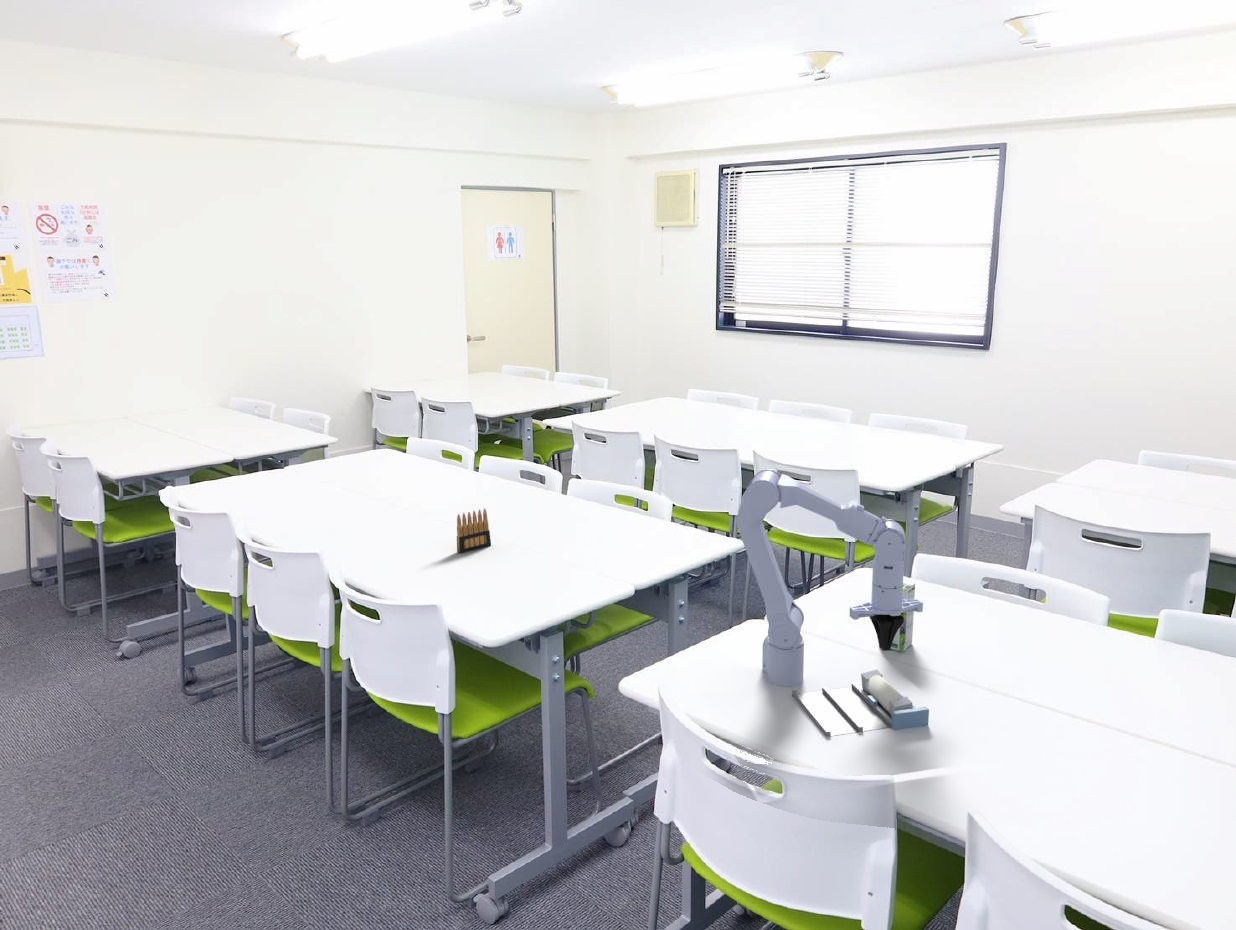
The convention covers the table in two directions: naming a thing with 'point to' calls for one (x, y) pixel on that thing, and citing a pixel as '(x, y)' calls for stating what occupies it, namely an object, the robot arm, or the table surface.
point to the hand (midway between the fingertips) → (884, 648)
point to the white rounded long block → (884, 692)
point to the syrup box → (905, 621)
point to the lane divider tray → (856, 711)
